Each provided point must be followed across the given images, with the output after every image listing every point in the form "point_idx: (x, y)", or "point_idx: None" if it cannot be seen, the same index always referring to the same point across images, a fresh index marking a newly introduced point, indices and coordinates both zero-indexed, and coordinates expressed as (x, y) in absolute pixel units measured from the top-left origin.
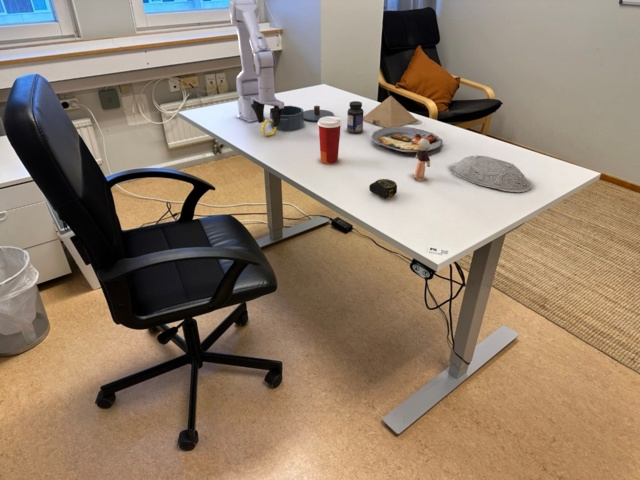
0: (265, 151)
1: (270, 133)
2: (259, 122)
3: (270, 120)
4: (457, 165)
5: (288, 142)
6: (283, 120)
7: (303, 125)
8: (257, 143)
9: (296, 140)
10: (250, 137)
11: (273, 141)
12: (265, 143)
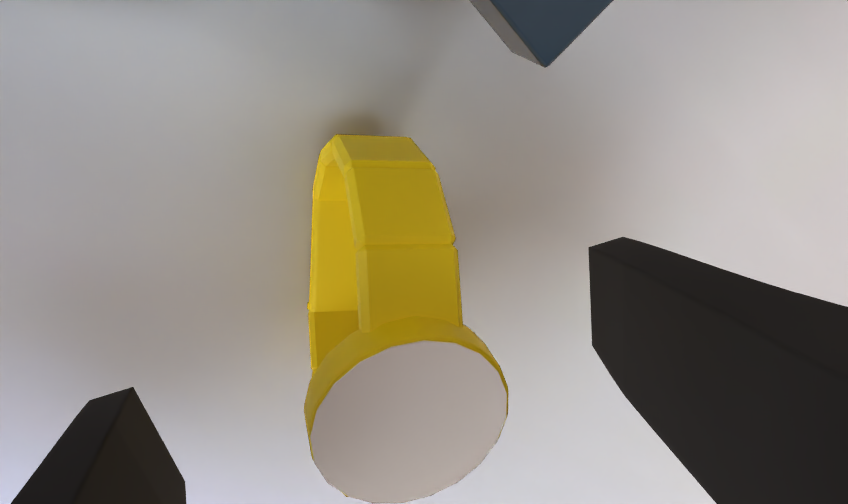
0: (697, 484)
1: (319, 211)
2: (173, 497)
3: (486, 413)
4: None
5: (759, 175)
6: (594, 5)
7: None
8: (481, 480)
9: (816, 32)
10: (233, 486)
11: (580, 312)
12: (551, 413)
